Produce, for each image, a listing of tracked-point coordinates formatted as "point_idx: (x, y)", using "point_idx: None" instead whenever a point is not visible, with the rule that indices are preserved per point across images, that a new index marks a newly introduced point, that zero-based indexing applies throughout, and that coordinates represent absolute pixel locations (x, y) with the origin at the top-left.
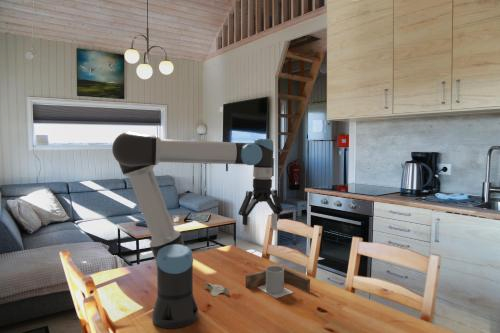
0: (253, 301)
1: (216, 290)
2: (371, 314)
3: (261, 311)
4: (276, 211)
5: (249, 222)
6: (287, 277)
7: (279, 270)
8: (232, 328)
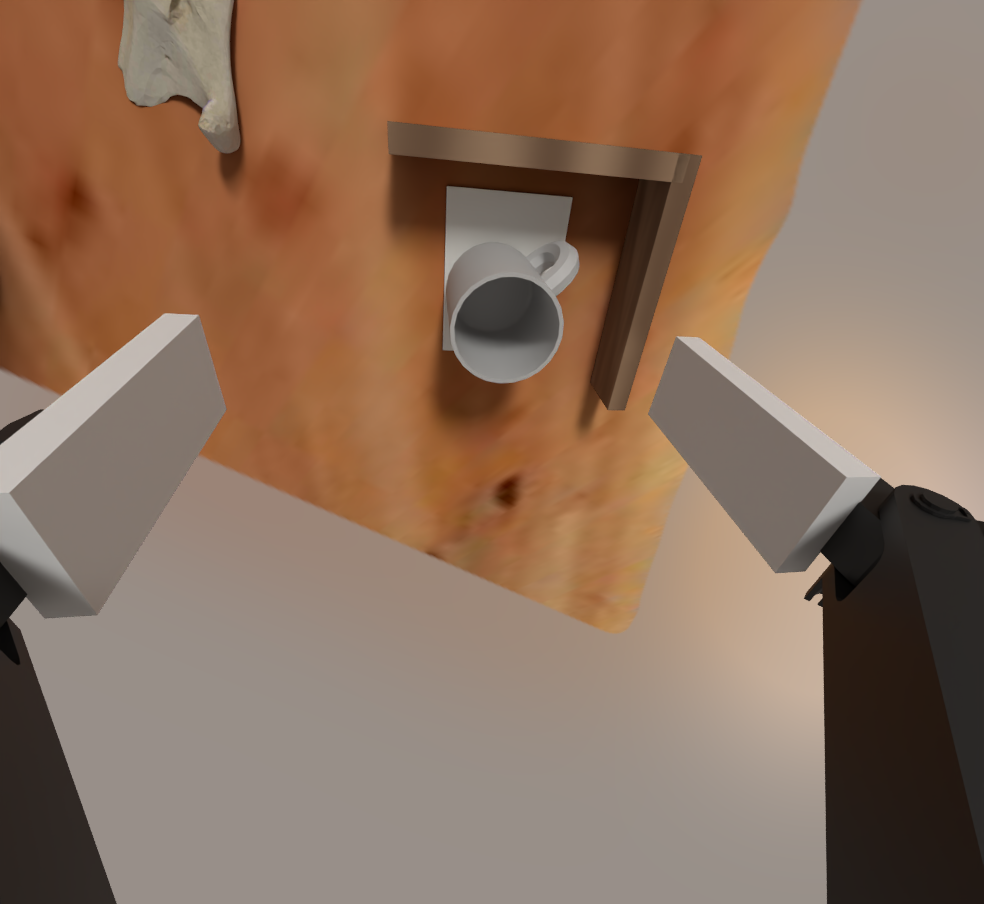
0: (333, 311)
1: (159, 46)
2: (585, 564)
3: (316, 399)
4: (831, 614)
5: (153, 521)
6: (634, 252)
7: (553, 309)
8: None
